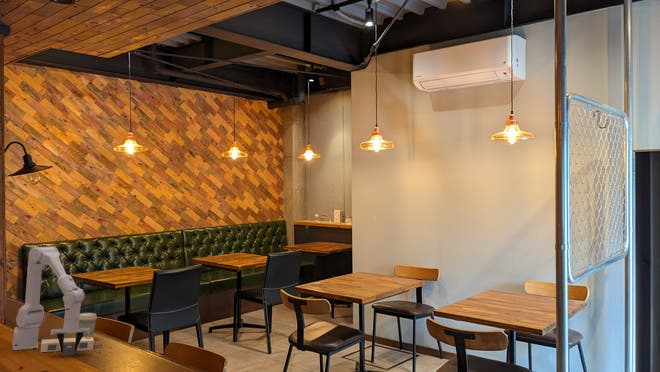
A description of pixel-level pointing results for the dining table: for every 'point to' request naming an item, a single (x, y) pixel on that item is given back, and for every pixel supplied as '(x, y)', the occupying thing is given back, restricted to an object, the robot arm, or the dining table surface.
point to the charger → (68, 349)
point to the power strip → (54, 344)
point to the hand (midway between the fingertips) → (68, 351)
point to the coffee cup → (87, 323)
